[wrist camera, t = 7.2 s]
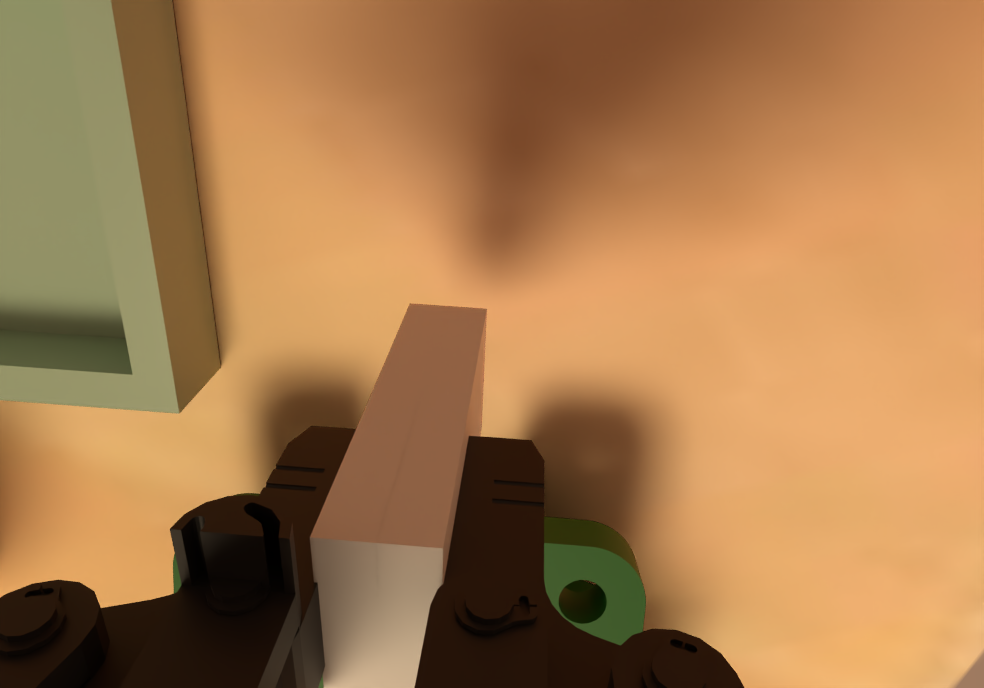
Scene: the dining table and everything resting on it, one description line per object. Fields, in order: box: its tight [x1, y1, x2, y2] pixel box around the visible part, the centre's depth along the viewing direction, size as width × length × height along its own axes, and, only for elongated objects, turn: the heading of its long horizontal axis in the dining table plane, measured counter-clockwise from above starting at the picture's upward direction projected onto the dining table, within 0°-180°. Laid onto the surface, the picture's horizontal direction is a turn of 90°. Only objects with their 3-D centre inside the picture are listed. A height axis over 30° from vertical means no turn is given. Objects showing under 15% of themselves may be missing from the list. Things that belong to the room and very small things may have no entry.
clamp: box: [173, 493, 646, 688], centre depth 19 cm, size 12×6×9 cm, turn 81°
